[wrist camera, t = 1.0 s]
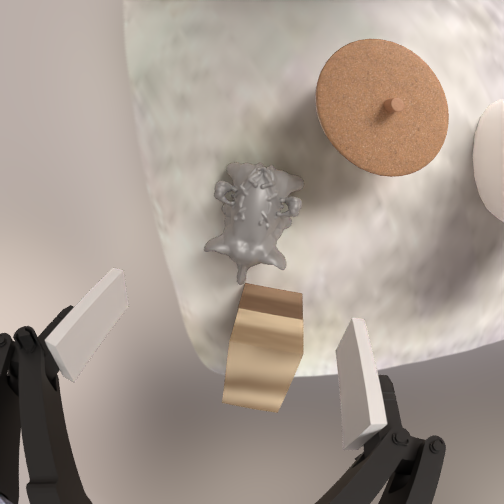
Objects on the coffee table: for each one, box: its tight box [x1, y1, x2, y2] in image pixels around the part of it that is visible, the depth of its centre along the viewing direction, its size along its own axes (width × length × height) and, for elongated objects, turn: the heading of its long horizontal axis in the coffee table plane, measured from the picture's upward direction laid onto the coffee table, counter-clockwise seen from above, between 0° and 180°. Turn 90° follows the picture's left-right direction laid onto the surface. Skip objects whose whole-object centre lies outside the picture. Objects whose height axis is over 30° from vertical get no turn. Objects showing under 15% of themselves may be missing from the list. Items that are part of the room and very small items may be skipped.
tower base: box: [238, 283, 303, 320], centre depth 34 cm, size 12×7×5 cm, turn 172°
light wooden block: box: [222, 308, 303, 412], centre depth 29 cm, size 12×7×5 cm, turn 172°
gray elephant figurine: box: [204, 162, 304, 285], centre depth 25 cm, size 9×12×8 cm
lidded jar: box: [315, 39, 449, 177], centre depth 18 cm, size 11×11×9 cm
